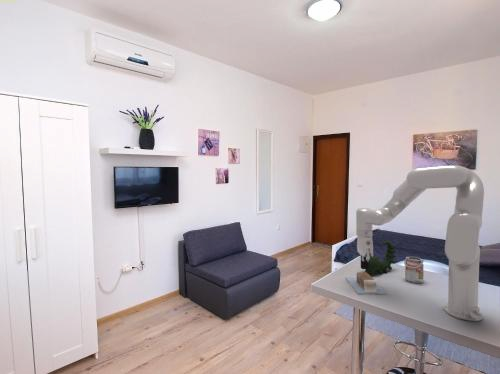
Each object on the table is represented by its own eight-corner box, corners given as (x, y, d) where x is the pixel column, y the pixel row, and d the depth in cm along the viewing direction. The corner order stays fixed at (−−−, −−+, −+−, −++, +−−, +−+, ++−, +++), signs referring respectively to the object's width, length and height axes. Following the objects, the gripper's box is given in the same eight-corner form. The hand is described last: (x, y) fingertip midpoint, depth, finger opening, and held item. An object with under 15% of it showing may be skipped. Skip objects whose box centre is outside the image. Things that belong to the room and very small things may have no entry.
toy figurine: (384, 269, 165) (353, 272, 155) (386, 238, 165) (355, 239, 155) (398, 274, 156) (366, 278, 146) (400, 242, 156) (368, 243, 146)
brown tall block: (366, 281, 141) (376, 291, 130) (356, 281, 142) (365, 291, 130) (366, 272, 141) (376, 281, 129) (356, 272, 141) (365, 281, 129)
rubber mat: (386, 294, 128) (386, 292, 128) (358, 294, 128) (358, 293, 128) (369, 278, 148) (369, 276, 148) (345, 278, 148) (345, 277, 148)
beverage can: (419, 286, 136) (419, 262, 136) (401, 281, 143) (401, 258, 142) (426, 281, 142) (426, 258, 142) (408, 276, 149) (408, 255, 148)
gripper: (378, 236, 129) (378, 273, 130) (366, 229, 144) (366, 263, 145) (362, 236, 129) (362, 274, 130) (351, 229, 144) (351, 263, 145)
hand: (364, 268), depth 138 cm, fingers closed
